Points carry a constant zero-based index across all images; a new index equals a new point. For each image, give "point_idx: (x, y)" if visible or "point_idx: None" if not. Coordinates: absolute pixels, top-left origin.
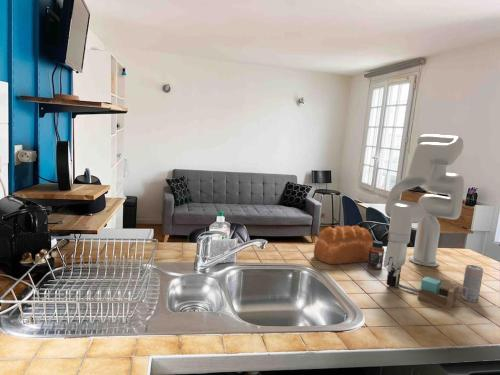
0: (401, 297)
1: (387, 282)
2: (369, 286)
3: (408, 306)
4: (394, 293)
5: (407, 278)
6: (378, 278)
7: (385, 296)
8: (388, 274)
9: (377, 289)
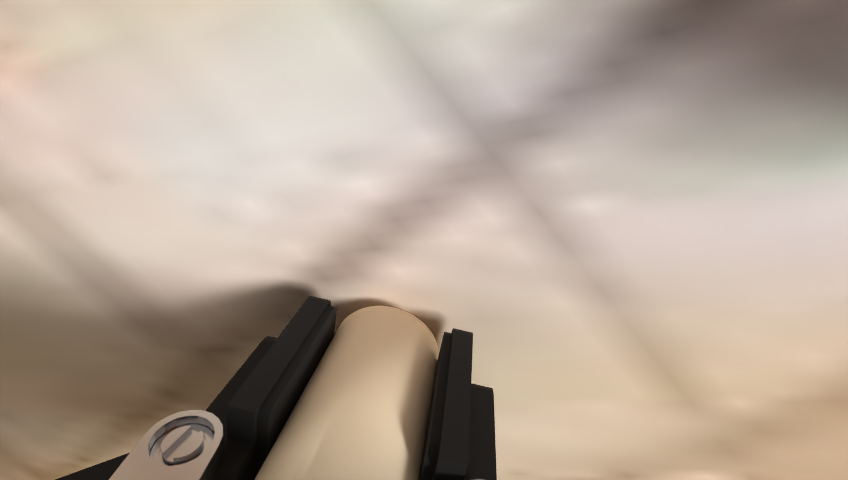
0: None
1: (298, 319)
2: (120, 84)
3: (36, 466)
4: (188, 371)
5: (828, 473)
6: (578, 131)
7: (31, 306)
8: (163, 434)
9: (124, 203)
